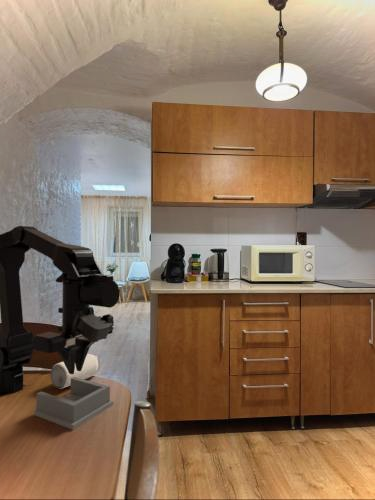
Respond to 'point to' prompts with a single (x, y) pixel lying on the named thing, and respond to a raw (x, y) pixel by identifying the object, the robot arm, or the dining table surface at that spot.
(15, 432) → the dining table surface
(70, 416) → the u rest
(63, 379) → the can
